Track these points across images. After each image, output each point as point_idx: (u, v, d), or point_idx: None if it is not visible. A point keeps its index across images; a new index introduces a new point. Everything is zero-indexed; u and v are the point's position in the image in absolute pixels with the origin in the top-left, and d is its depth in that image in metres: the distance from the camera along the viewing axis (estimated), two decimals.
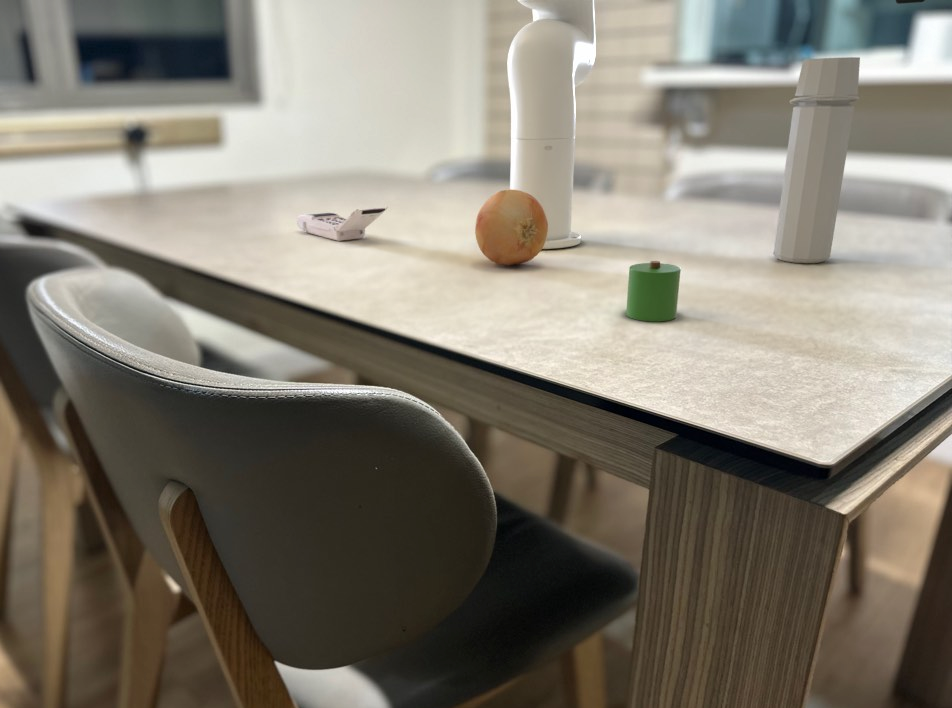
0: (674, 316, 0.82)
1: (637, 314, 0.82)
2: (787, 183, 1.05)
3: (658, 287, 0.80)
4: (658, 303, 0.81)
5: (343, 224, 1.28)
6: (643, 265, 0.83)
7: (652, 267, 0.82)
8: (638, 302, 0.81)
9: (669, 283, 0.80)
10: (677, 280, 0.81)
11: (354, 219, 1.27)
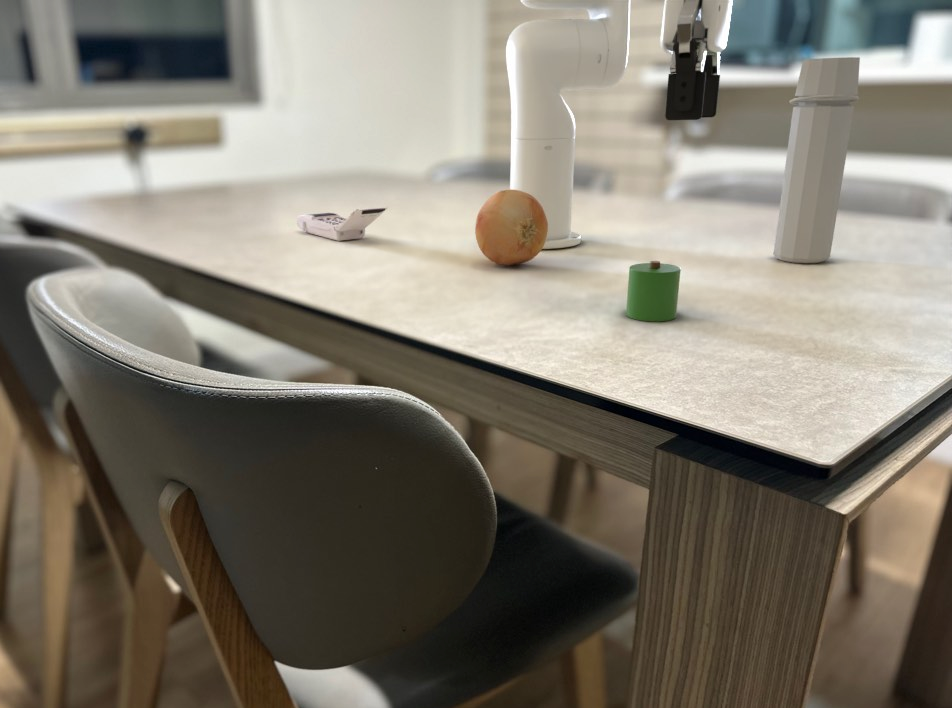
0: (674, 316, 0.82)
1: (637, 314, 0.82)
2: (787, 183, 1.05)
3: (658, 287, 0.80)
4: (658, 303, 0.81)
5: (343, 224, 1.28)
6: (643, 265, 0.83)
7: (652, 267, 0.82)
8: (638, 302, 0.81)
9: (669, 283, 0.80)
10: (677, 280, 0.81)
11: (354, 219, 1.27)
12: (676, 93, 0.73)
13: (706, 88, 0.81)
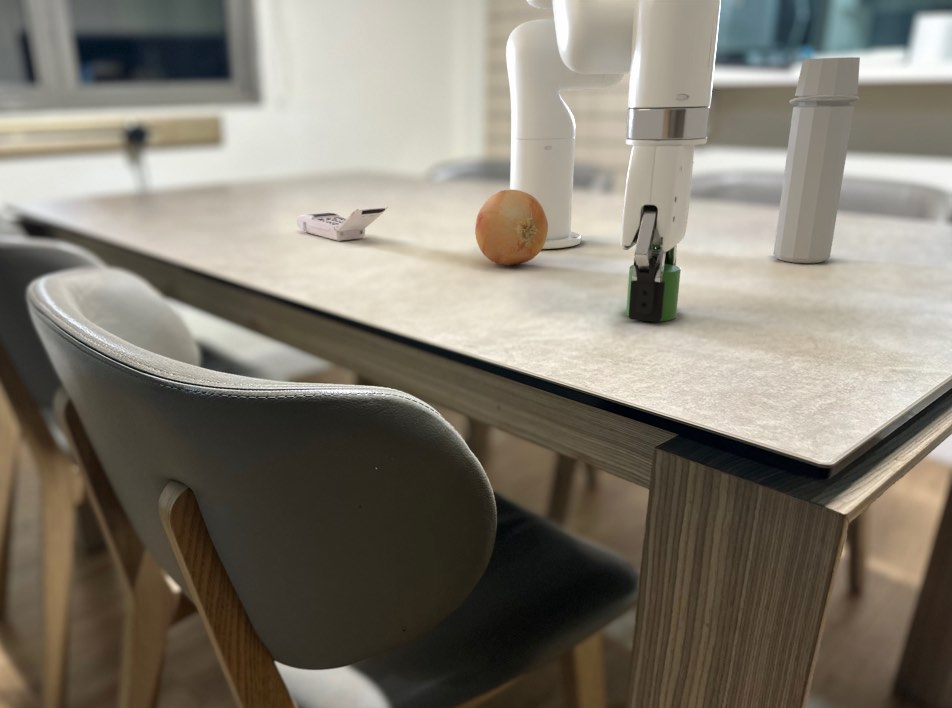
0: (674, 316, 0.82)
1: None
2: (787, 183, 1.05)
3: None
4: None
5: (343, 224, 1.28)
6: None
7: None
8: None
9: (669, 283, 0.80)
10: (677, 280, 0.81)
11: (354, 219, 1.27)
12: (638, 299, 0.80)
13: None
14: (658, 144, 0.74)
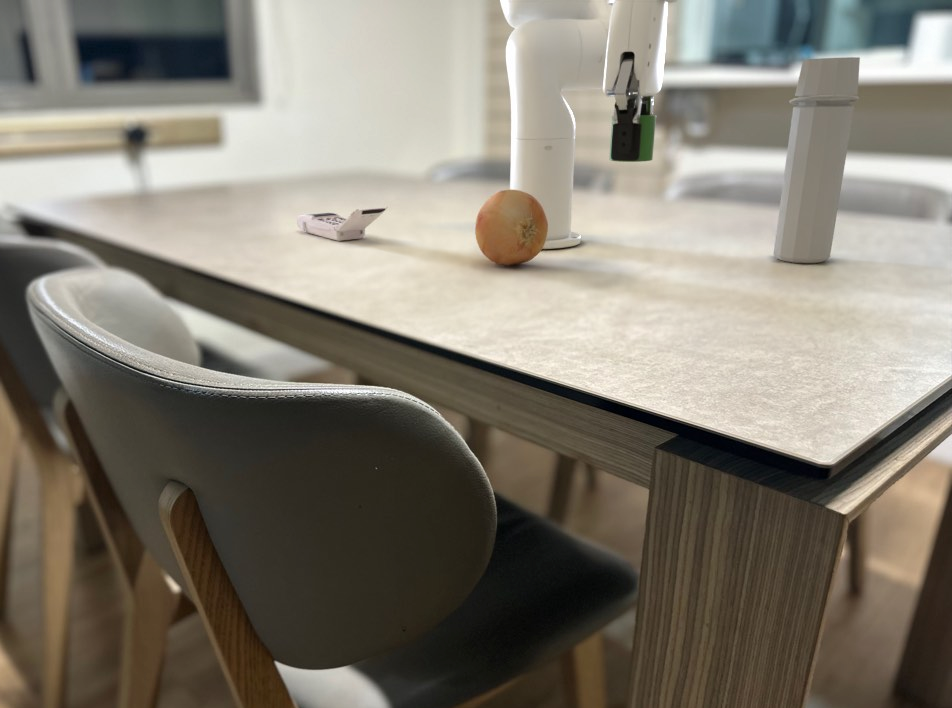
0: (650, 158, 0.95)
1: None
2: (787, 183, 1.05)
3: None
4: None
5: (343, 224, 1.28)
6: None
7: None
8: None
9: (645, 126, 0.93)
10: (653, 125, 0.94)
11: (354, 219, 1.27)
12: (618, 140, 0.93)
13: None
14: None
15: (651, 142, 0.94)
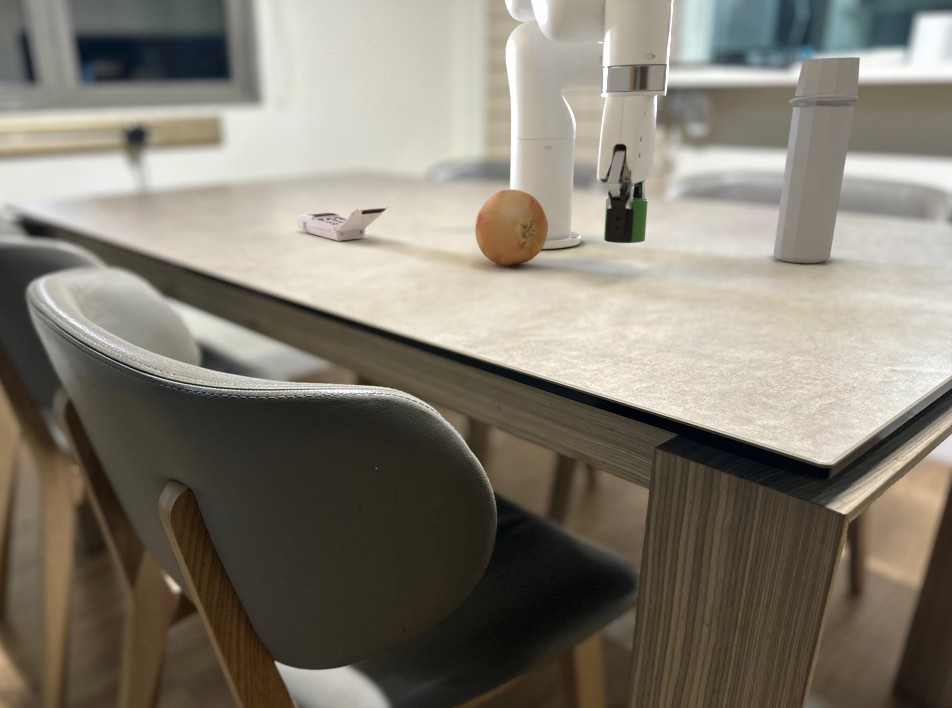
0: (643, 239, 1.00)
1: None
2: (787, 183, 1.05)
3: None
4: None
5: (343, 224, 1.28)
6: None
7: None
8: None
9: (638, 210, 0.98)
10: (645, 208, 0.99)
11: (354, 219, 1.27)
12: (612, 223, 0.98)
13: None
14: (626, 95, 0.93)
15: (643, 224, 1.00)
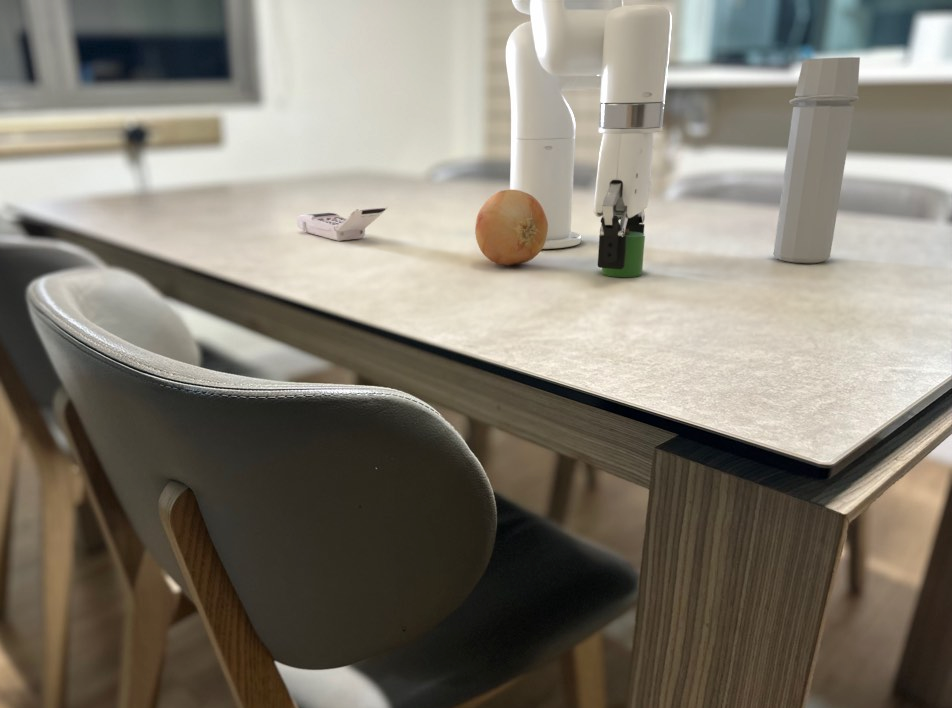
0: (640, 273, 1.02)
1: (610, 271, 1.02)
2: (787, 183, 1.05)
3: (626, 249, 1.00)
4: (626, 262, 1.00)
5: (343, 224, 1.28)
6: None
7: None
8: None
9: (635, 246, 1.00)
10: (642, 244, 1.01)
11: (354, 219, 1.27)
12: (604, 250, 0.98)
13: None
14: (623, 132, 0.94)
15: (640, 259, 1.01)
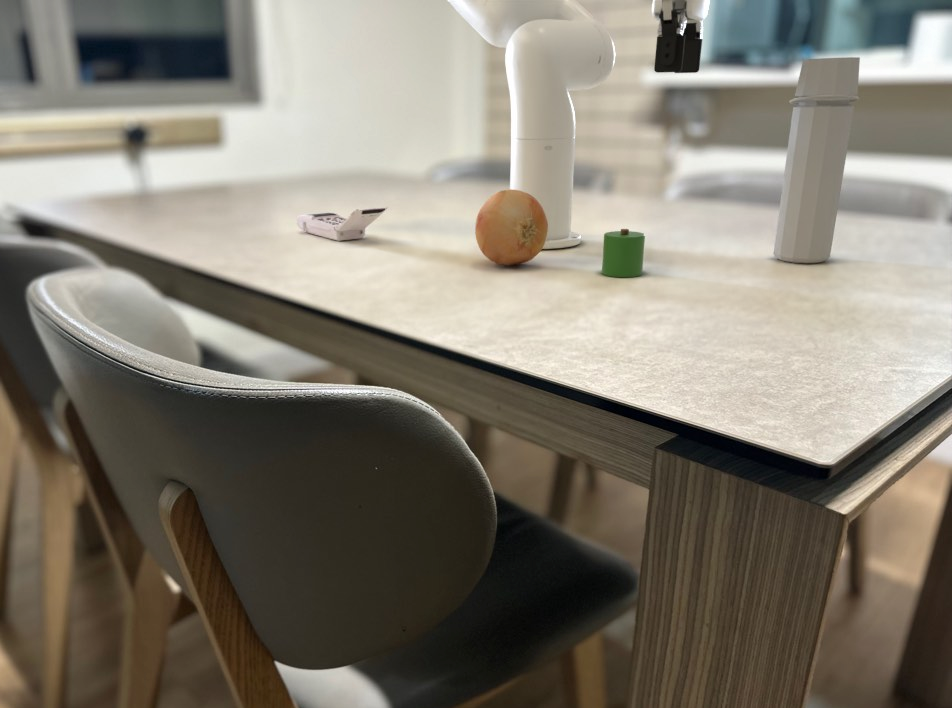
0: (640, 273, 1.02)
1: (610, 271, 1.02)
2: (787, 183, 1.05)
3: (626, 249, 1.00)
4: (626, 262, 1.00)
5: (343, 224, 1.28)
6: (615, 232, 1.03)
7: (622, 233, 1.01)
8: (611, 261, 1.01)
9: (635, 246, 1.00)
10: (642, 244, 1.01)
11: (354, 219, 1.27)
12: (662, 51, 0.96)
13: (691, 49, 1.04)
14: None
15: (640, 259, 1.01)
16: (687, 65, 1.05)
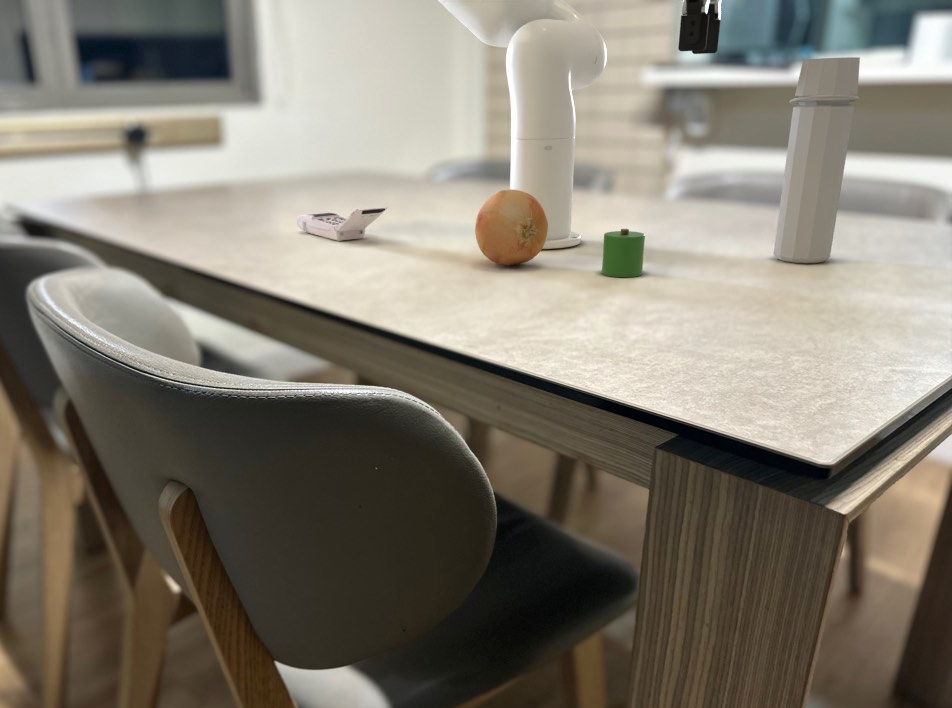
0: (640, 273, 1.02)
1: (610, 271, 1.02)
2: (787, 183, 1.05)
3: (626, 249, 1.00)
4: (626, 262, 1.00)
5: (343, 224, 1.28)
6: (615, 232, 1.03)
7: (622, 233, 1.01)
8: (611, 261, 1.01)
9: (635, 246, 1.00)
10: (642, 244, 1.01)
11: (354, 219, 1.27)
12: (686, 30, 0.98)
13: (710, 30, 1.05)
14: None
15: (640, 259, 1.01)
16: (706, 46, 1.06)
